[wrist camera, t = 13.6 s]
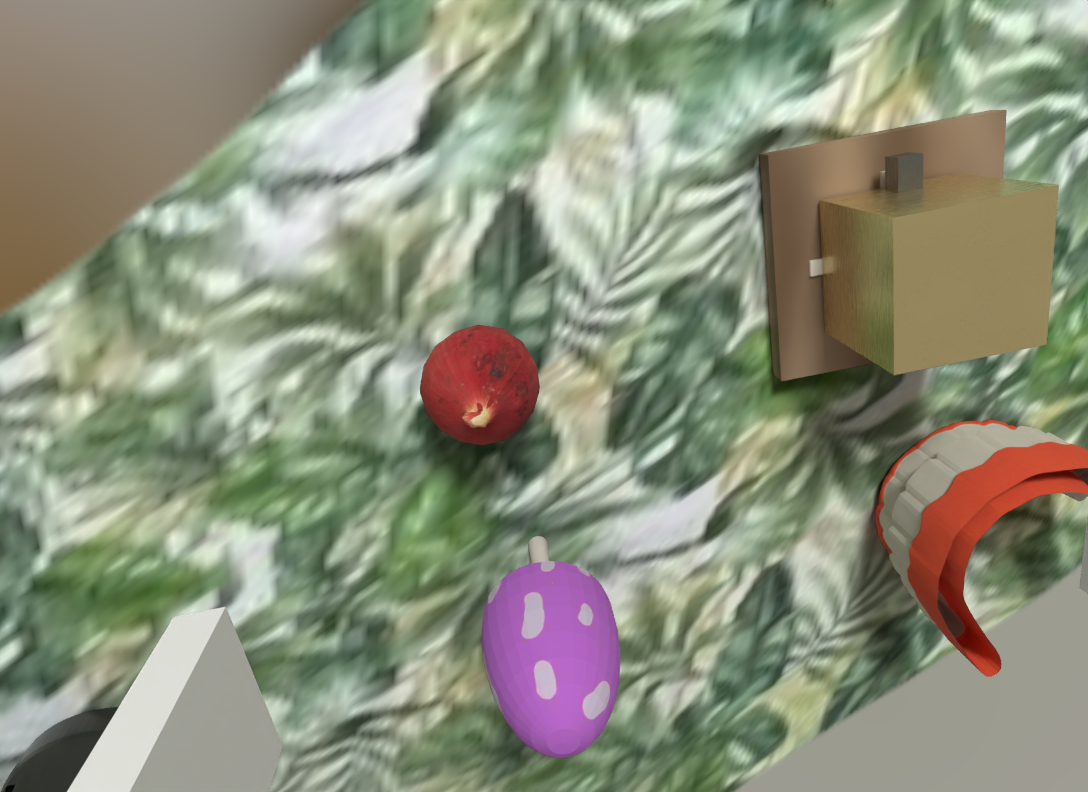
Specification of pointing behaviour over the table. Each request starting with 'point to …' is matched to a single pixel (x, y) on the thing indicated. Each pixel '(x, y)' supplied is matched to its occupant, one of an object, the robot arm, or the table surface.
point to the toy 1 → (551, 654)
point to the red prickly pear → (480, 385)
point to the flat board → (835, 172)
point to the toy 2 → (966, 512)
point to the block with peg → (938, 266)
